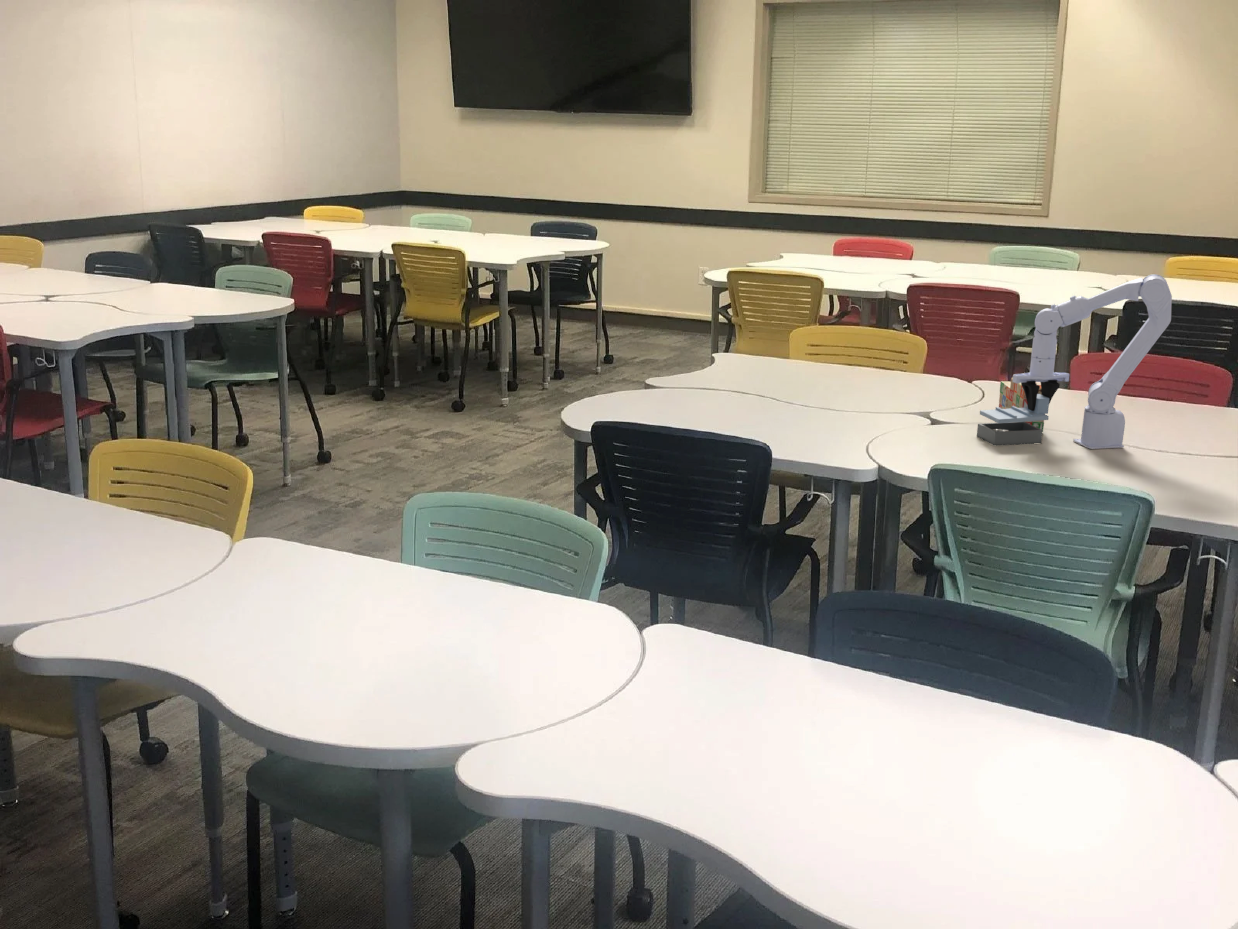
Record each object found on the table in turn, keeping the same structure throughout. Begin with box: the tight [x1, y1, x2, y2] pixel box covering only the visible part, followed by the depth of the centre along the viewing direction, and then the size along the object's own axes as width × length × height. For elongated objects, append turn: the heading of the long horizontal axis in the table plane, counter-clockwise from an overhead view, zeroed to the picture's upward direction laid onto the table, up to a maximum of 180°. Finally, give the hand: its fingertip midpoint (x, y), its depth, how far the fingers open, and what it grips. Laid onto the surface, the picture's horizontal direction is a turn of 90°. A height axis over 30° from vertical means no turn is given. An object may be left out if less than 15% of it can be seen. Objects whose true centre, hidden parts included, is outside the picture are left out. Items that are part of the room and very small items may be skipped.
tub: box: [976, 422, 1044, 447], centre depth 305 cm, size 13×9×4 cm
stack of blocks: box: [998, 377, 1045, 431], centre depth 321 cm, size 21×6×12 cm, turn 178°
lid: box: [979, 394, 1050, 423], centre depth 303 cm, size 15×10×5 cm, turn 101°
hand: (1037, 409), depth 304 cm, fingers closed on lid, 3 cm apart
